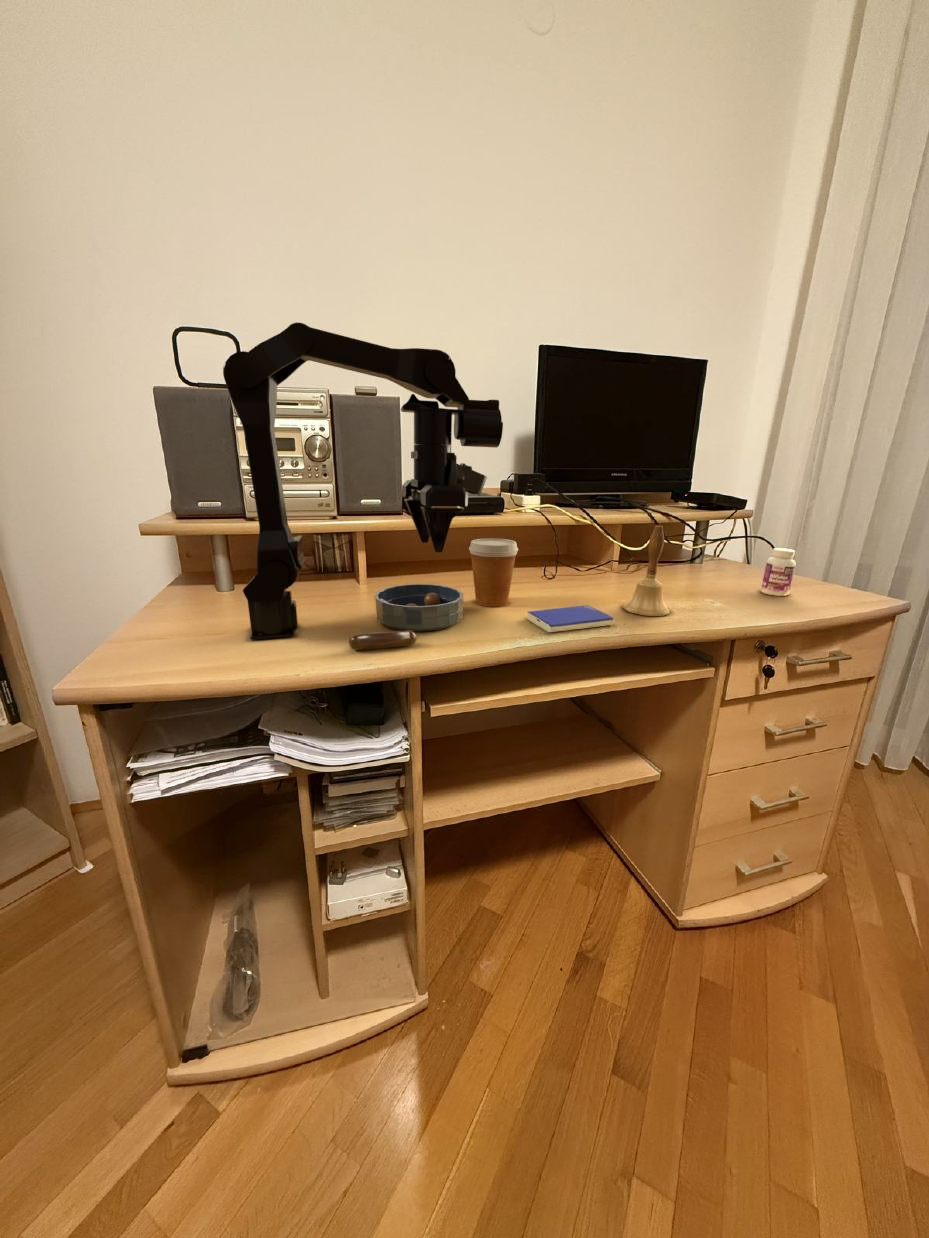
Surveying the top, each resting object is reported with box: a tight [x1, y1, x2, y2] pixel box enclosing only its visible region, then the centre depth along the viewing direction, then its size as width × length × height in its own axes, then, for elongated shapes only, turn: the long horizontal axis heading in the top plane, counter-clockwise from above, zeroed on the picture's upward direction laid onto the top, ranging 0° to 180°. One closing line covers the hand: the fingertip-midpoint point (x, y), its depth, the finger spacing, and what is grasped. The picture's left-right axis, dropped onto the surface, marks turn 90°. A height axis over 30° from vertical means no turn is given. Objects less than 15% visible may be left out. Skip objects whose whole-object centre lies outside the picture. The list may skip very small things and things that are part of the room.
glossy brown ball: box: [424, 593, 441, 606], centre depth 89 cm, size 3×3×3 cm
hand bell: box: [623, 525, 670, 617], centre depth 91 cm, size 8×8×16 cm
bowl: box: [373, 583, 464, 632], centre depth 85 cm, size 15×15×4 cm
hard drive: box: [526, 604, 614, 633], centre depth 86 cm, size 2×8×12 cm
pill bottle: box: [760, 547, 797, 597], centre depth 106 cm, size 5×5×10 cm
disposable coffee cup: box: [468, 537, 520, 608], centre depth 95 cm, size 10×10×12 cm
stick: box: [348, 630, 418, 651], centre depth 73 cm, size 10×2×2 cm, turn 107°
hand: (431, 547), depth 79 cm, fingers open, 9 cm apart
